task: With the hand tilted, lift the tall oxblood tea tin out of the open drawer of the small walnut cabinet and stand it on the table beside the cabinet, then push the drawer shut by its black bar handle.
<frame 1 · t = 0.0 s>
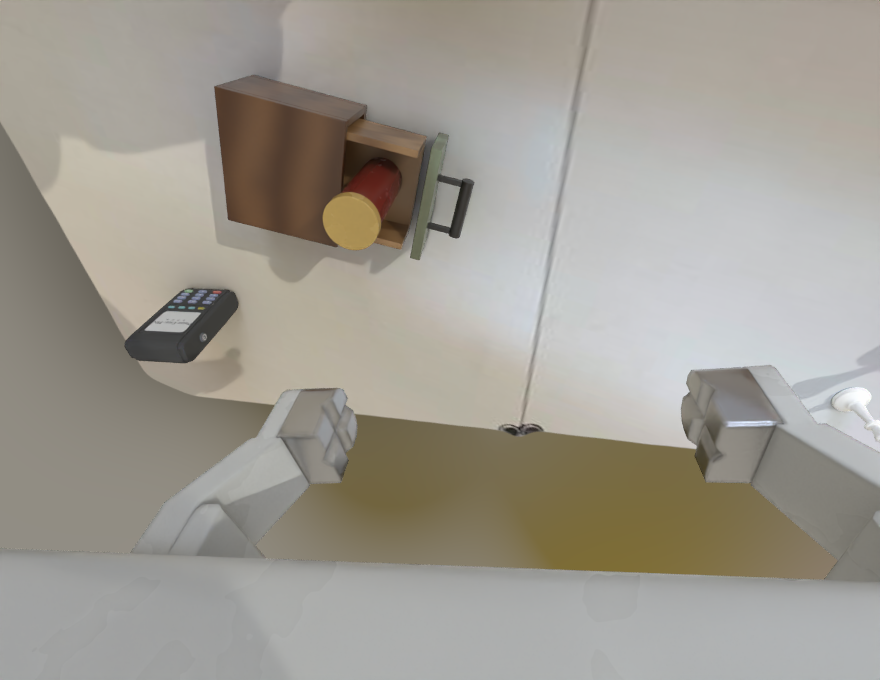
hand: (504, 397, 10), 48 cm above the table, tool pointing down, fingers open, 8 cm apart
cabinet: (309, 153, 55), on the table
card reader: (213, 295, 71), on the table
drawer: (400, 190, 52), point 4 cm above the table, slide at 9.0 cm, touching tea tin
tea tin: (381, 178, 54), point 2 cm above the table, touching drawer
chess piece: (849, 397, 69), on the table
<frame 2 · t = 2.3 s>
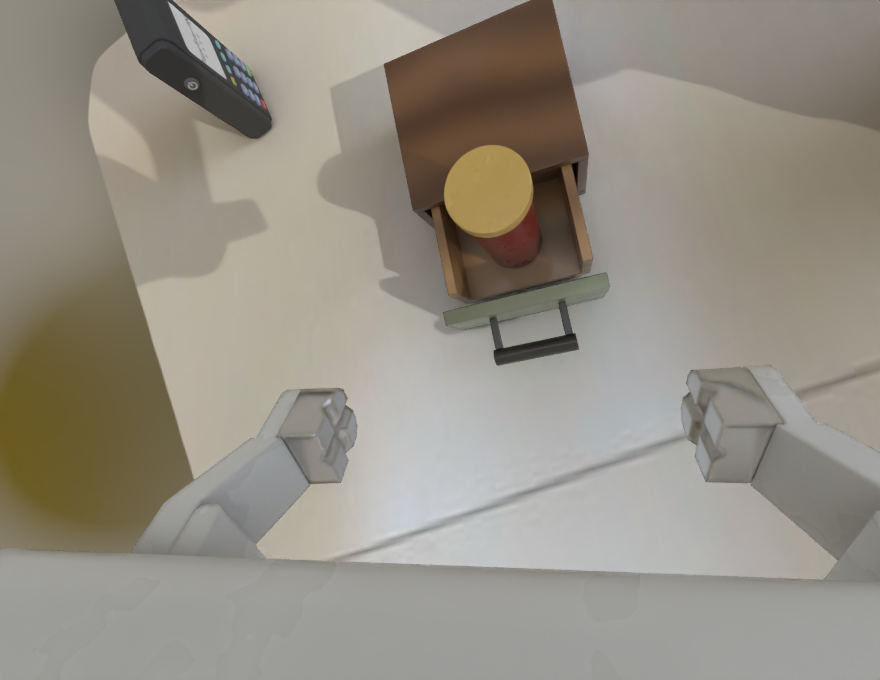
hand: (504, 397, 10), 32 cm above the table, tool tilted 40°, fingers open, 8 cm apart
cabinet: (496, 151, 44), on the table
card reader: (255, 106, 53), on the table
drawer: (517, 265, 38), point 4 cm above the table, slide at 9.0 cm, touching tea tin
tea tin: (514, 241, 41), point 2 cm above the table, touching drawer
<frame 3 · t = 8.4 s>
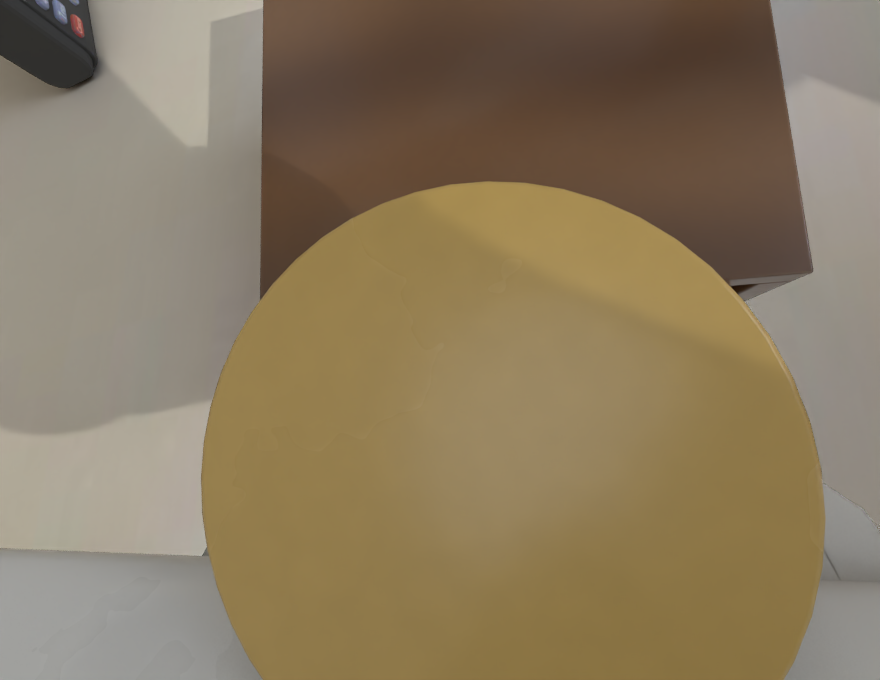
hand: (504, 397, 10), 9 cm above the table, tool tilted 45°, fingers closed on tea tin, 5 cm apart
cabinet: (505, 199, 21), on the table
card reader: (79, 33, 28), on the table
tea tin: (518, 410, 18), point 2 cm above the table, touching drawer, gripper
when the fingers open (7 cm above the table, at t = 18.9 s): tea tin stays where it is, on the table.
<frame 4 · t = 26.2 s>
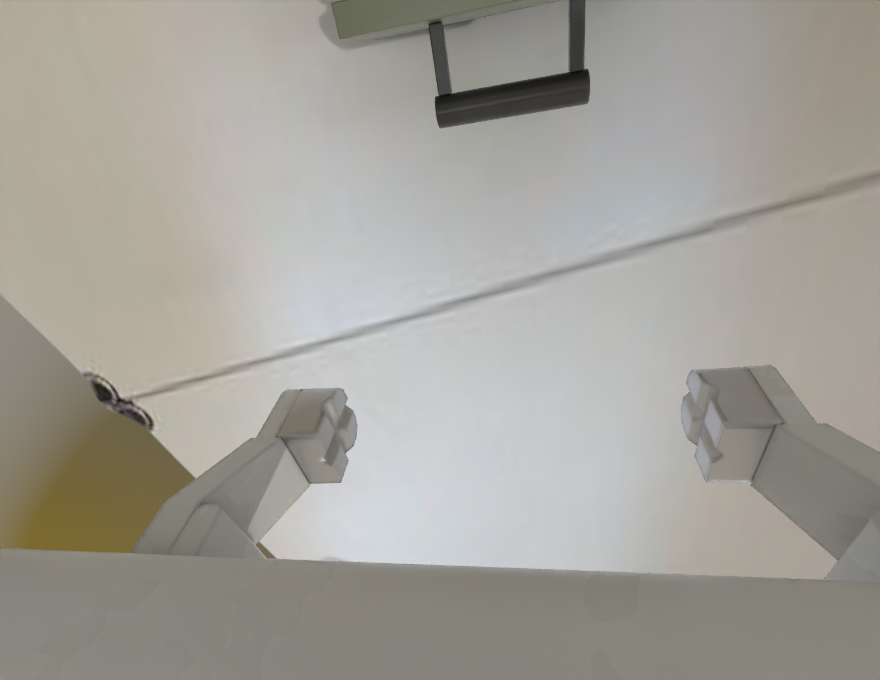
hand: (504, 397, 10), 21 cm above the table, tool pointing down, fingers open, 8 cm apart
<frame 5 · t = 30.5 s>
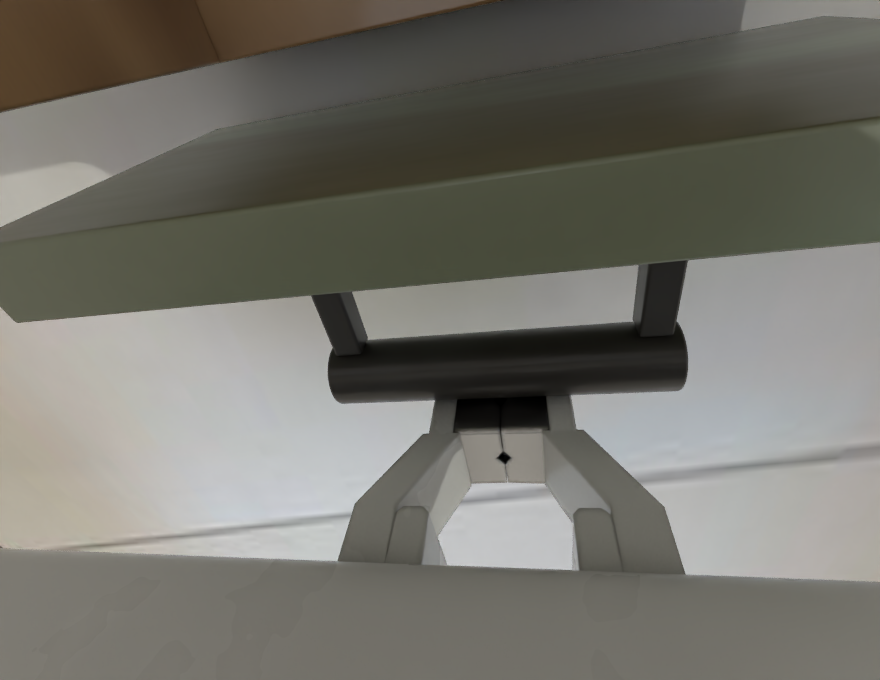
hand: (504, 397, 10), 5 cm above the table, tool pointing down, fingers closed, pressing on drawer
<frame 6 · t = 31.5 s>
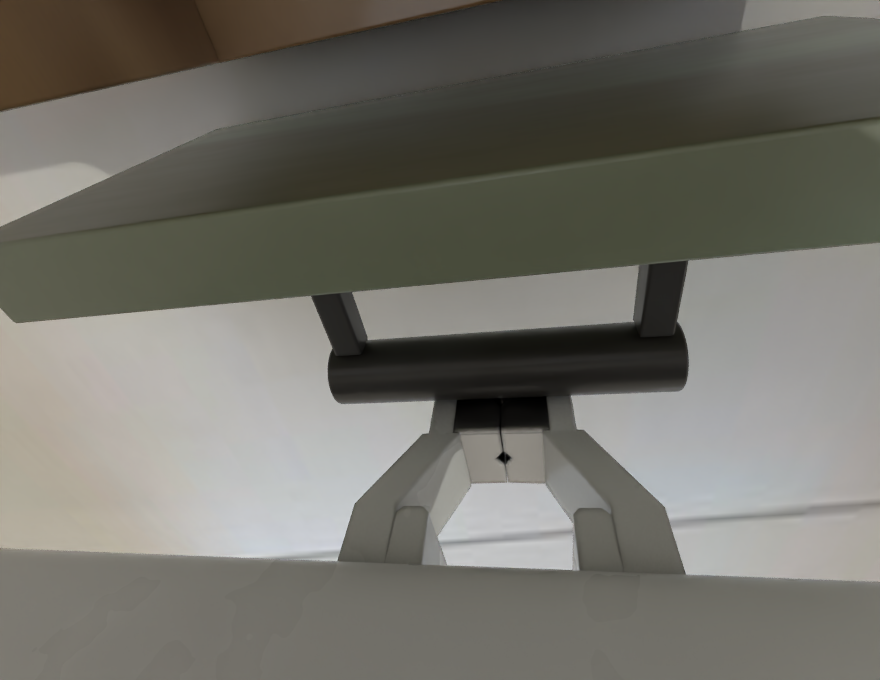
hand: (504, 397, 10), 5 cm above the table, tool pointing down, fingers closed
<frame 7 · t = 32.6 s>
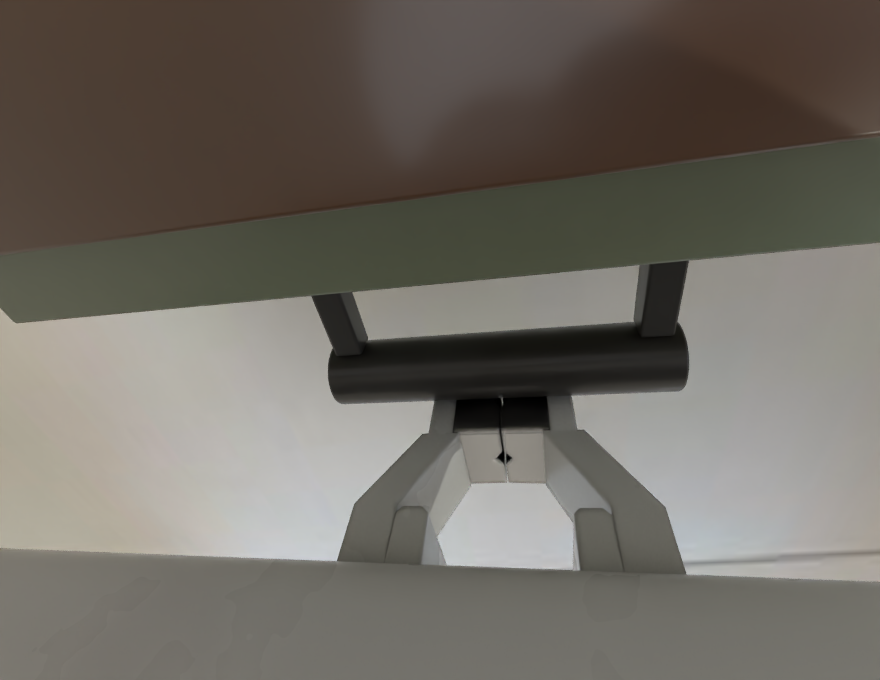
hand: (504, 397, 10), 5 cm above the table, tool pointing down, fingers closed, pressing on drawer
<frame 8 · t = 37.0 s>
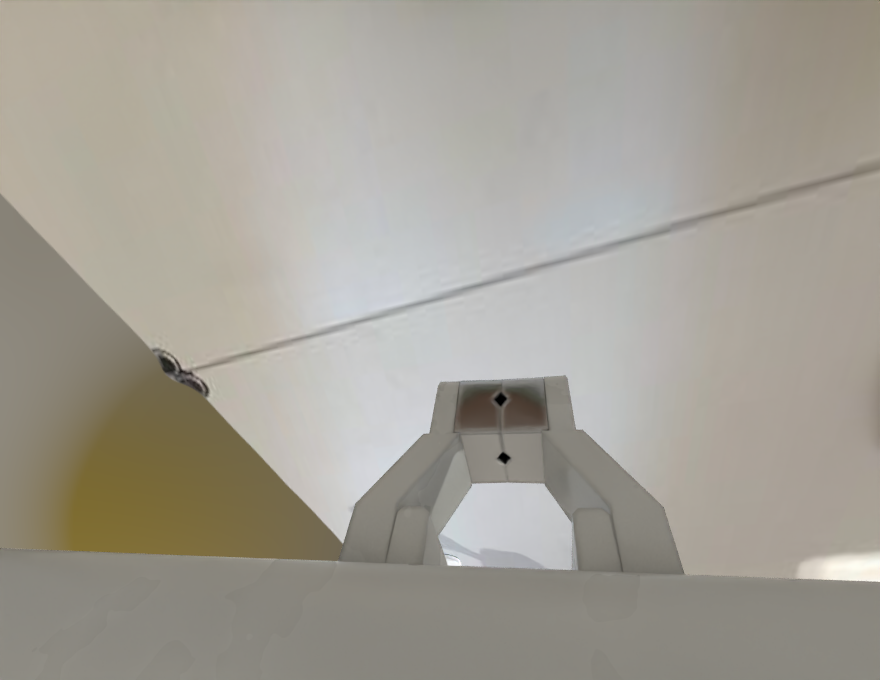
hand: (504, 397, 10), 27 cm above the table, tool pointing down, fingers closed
chess piece: (447, 560, 75), on the table
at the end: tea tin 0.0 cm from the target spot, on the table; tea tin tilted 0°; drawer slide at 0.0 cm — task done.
